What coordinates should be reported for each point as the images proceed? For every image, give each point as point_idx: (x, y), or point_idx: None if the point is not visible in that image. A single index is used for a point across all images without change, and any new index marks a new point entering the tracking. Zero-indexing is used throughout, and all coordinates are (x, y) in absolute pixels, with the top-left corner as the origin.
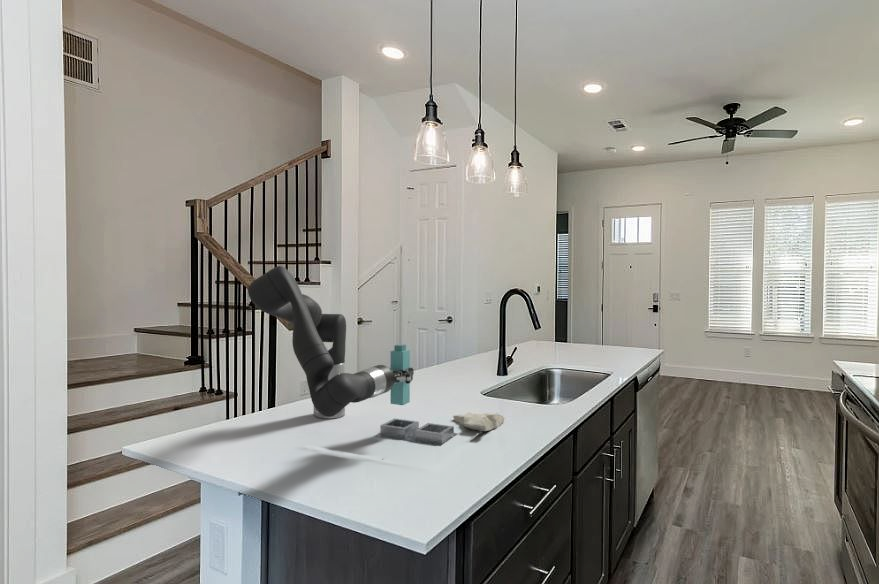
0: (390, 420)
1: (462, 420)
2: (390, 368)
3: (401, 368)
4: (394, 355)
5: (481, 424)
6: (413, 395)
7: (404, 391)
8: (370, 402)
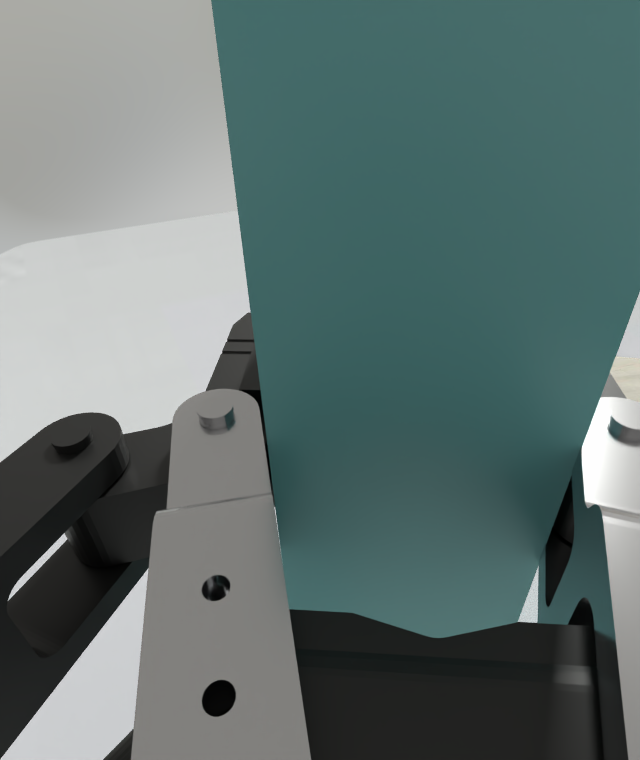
0: None
1: None
2: (258, 426)
3: (546, 424)
4: (370, 110)
5: None
6: (194, 272)
7: None
8: (48, 348)
